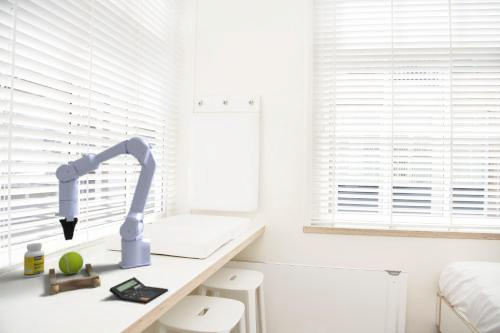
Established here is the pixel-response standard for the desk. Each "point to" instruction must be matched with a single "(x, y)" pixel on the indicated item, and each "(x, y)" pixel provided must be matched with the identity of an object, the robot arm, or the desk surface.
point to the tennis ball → (70, 263)
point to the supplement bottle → (34, 260)
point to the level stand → (73, 281)
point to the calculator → (136, 291)
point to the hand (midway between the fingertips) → (68, 239)
